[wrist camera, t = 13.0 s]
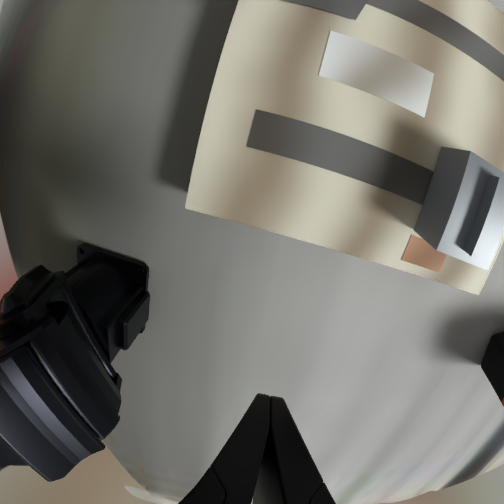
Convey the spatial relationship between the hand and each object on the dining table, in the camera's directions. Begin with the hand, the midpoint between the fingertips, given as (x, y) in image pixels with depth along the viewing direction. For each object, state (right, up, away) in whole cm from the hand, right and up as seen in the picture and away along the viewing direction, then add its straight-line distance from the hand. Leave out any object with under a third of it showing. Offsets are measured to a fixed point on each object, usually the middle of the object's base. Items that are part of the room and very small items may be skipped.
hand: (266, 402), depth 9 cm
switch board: (+8, +14, +6) cm, 18 cm away
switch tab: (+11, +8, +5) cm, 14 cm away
